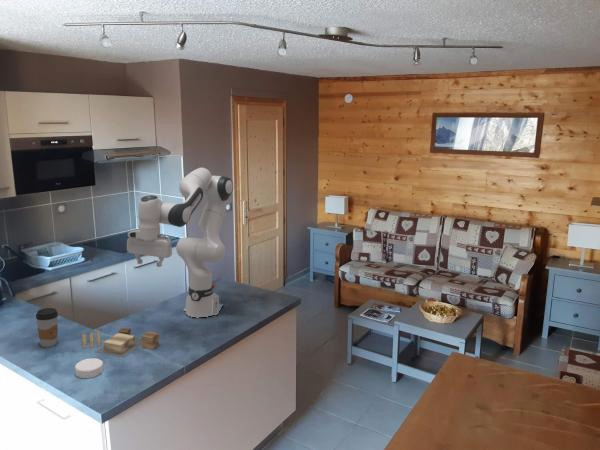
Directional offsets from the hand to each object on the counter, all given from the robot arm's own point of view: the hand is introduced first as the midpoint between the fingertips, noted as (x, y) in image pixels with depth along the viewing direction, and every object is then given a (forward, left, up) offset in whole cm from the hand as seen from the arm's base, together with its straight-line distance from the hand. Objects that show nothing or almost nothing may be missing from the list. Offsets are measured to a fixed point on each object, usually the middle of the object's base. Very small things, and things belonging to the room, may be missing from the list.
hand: (149, 265), depth 211 cm
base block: (+13, -6, -34) cm, 37 cm away
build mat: (+11, -6, -34) cm, 37 cm away
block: (+5, -10, -34) cm, 35 cm away
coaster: (+33, -5, -35) cm, 49 cm away
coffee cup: (+20, -36, -34) cm, 54 cm away
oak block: (+7, +5, -34) cm, 35 cm away
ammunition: (+15, -19, -35) cm, 42 cm away
